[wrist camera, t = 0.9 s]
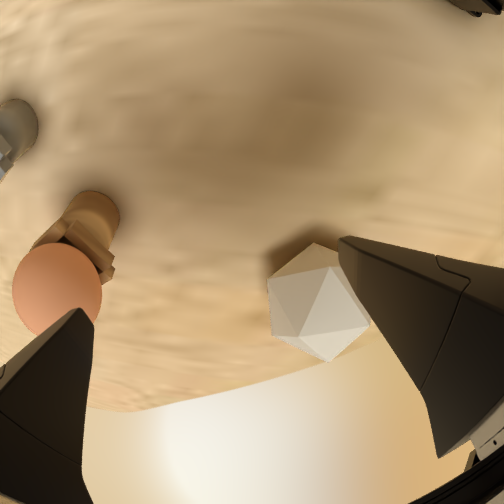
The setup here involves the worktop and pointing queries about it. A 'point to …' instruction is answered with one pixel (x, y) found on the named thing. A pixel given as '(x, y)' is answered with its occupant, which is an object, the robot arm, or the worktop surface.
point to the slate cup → (15, 133)
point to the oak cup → (87, 230)
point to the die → (315, 304)
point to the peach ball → (55, 286)
